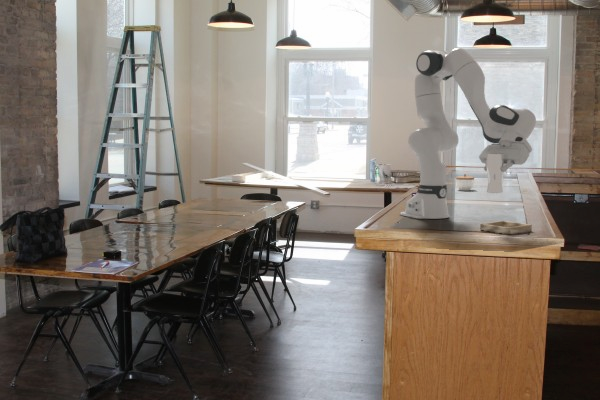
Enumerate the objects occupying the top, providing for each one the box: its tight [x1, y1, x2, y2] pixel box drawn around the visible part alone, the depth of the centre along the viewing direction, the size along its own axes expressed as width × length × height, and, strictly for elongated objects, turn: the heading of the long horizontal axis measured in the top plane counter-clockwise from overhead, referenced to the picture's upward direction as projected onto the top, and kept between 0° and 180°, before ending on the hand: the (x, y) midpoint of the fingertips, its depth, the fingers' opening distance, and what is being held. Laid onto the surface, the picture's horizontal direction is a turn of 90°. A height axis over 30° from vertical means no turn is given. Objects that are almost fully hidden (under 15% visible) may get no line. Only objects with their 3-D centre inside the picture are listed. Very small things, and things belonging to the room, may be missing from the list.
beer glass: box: [486, 153, 505, 194], centre depth 287 cm, size 7×7×15 cm
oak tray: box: [479, 220, 533, 235], centre depth 287 cm, size 14×14×3 cm
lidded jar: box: [455, 173, 475, 191], centre depth 442 cm, size 11×11×9 cm
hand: (494, 170), depth 286 cm, fingers closed on beer glass, 7 cm apart
